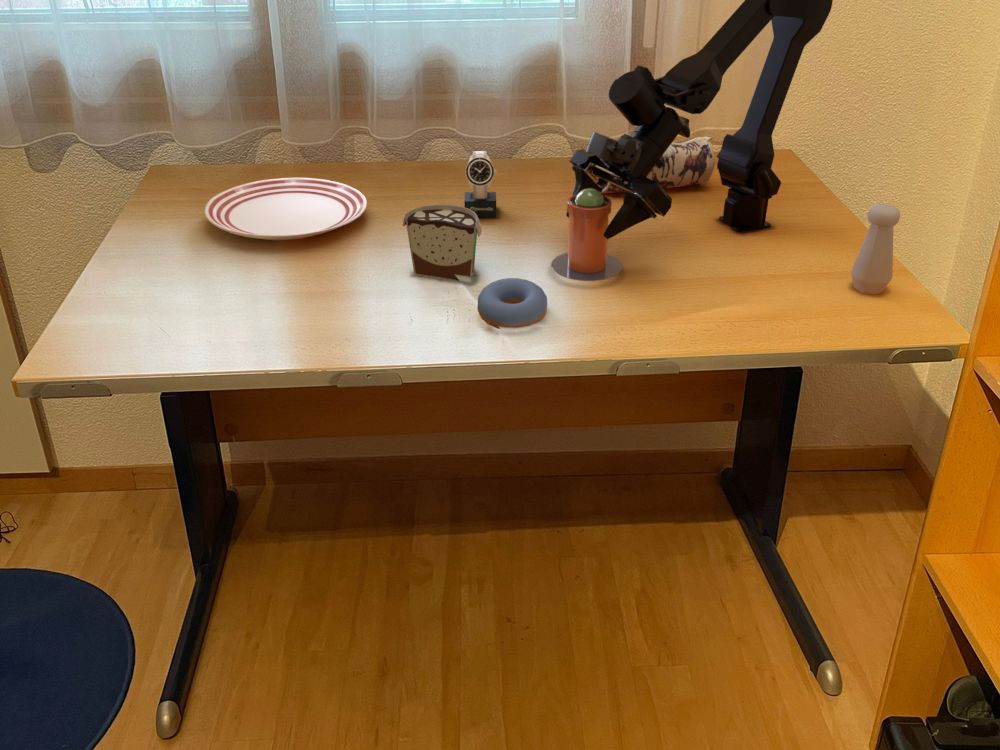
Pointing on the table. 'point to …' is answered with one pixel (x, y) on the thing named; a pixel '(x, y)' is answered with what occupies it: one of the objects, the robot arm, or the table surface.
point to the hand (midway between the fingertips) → (586, 227)
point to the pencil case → (680, 165)
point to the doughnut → (512, 303)
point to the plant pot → (588, 230)
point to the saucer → (610, 270)
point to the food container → (442, 240)
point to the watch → (480, 185)
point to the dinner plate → (285, 208)
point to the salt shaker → (876, 251)
